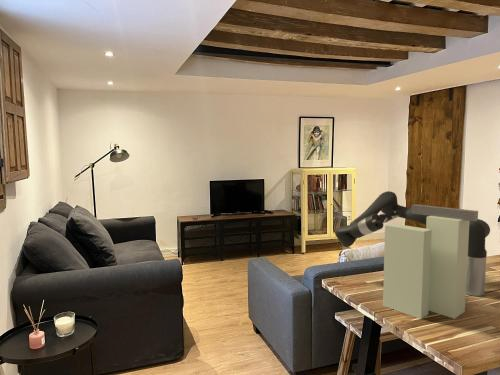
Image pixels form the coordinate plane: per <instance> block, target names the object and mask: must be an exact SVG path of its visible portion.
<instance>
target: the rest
mask: <svg viewBox="0 0 500 375" xmlns="http://www.w3.org/2000/svg"><path fill="white" fill-rule="evenodd" d="M431 234H432V230H431V229H426V227H425V228H423V227H418V226H411V225H405V224H399V223H389V224H385V225H384V249H383V250H384V252H383V254H384V255H383V257H384V258H383V288H382V290H383V291H382V292H383V293H382V307H385V308H388V307H389V308H388V309H390V310H393V309H394V311H396V310H397V311H396V312H400V313H402V314H406V315H408V316H410V317H414V318H417V319H419V320H422V319H424V318H425V317H427V316H428V315H429V285H430V259H431Z"/></svg>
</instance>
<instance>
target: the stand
mask: <svg viewBox="0 0 500 375" xmlns="http://www.w3.org/2000/svg"><path fill="white" fill-rule="evenodd" d="M425 229H431V230H432V234H431V259H430V285H429V310H428V312H429V311H430V312H433V313H434V314H435V313H436V314H439V315H442V316H445V317H446V318H447V317H448V318H452V319H456V318H458V317H459V316H461V315H462V314H463V313H465V312H466V297H467V294H466V281H467V261H468V241H469V221H468V220H460V219H452V218H444V217H436V216H428V217H427V220H426V225H425Z"/></svg>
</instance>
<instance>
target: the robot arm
mask: <svg viewBox="0 0 500 375" xmlns="http://www.w3.org/2000/svg"><path fill="white" fill-rule="evenodd" d="M411 207H412V206H410V207H408V206H403V205H400V204H398V196H397V194H396V193H395V192H393V191H383V192H382V193H381V194H379V195H378V197H376V199H375V200H374V201H373V202H372V203H370V205H369V206H368V207H367V209H365V211H364V212H362V213H361V214H360V215H359V216H357V218H355V219H354V220H352V221H351V222H350V223H349V224H347V225H341V226H339V227H337V228H336V229H335V231H334V235H335V237H336V238H337V239H338V241H339V242H340V244H341V245H342V246H343V247H345V248H350V247H351V246H352V245H354V243H355V242H356V240H358V239H360V238H362V237H364V236H368V235H370V234H373V233H375V232H378V231H379V230H383V227H384V224H387V223H388V222H390V221H393V220H394V219H396V218H400V219H401V218H402V219H406V220H409V221H411V222H417V223H419V224H422V225H425V226H426V220H427V217H428V215H420V214H412V213H411ZM380 212H381V214H379V213H380ZM490 232H491V227H490V226H489V224H488V222H486V221H484V220H482V219H481V218H478V220H477V221H469V241H468V261H467V281H466V295H469V296H472V297H473V296H474V297H483V296H485V293H486V292H485V291H486V274H487V256H488V252H487V249H486V238H487V237H488V236H489V235H490Z"/></svg>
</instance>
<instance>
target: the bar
mask: <svg viewBox="0 0 500 375" xmlns="http://www.w3.org/2000/svg"><path fill="white" fill-rule="evenodd" d="M410 207H411V213H412V214H420V215H428V216H436V217H444V218H452V219H460V220H468V221H477V220H478V219H479V210H472V209H462V208H456V207H454V208H453V207H445V206H443V207H442V206H435V205H426V204H411V206H410Z"/></svg>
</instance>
